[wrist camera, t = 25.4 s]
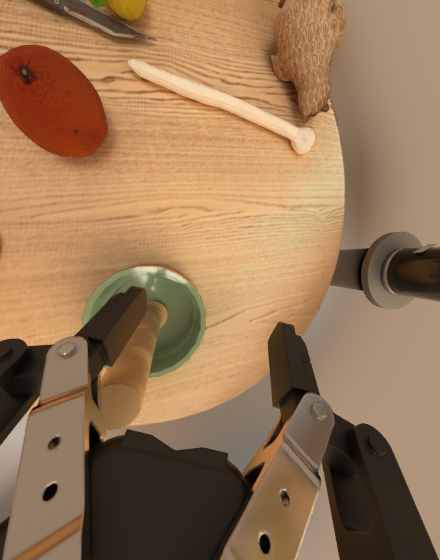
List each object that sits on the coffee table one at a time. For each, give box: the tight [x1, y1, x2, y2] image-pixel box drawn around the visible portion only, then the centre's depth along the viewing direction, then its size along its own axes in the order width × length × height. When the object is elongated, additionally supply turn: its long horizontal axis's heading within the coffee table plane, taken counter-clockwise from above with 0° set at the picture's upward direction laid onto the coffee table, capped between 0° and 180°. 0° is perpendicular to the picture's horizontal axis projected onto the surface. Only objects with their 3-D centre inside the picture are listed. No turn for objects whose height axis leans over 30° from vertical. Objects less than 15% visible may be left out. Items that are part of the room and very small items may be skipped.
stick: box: [101, 299, 168, 430], centre depth 19 cm, size 4×4×18 cm
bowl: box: [82, 265, 206, 378], centre depth 25 cm, size 14×14×6 cm
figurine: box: [271, 0, 346, 123], centre depth 25 cm, size 9×10×15 cm
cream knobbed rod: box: [128, 59, 315, 155], centre depth 26 cm, size 28×4×3 cm, turn 80°
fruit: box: [0, 45, 108, 157], centre depth 20 cm, size 9×9×8 cm
